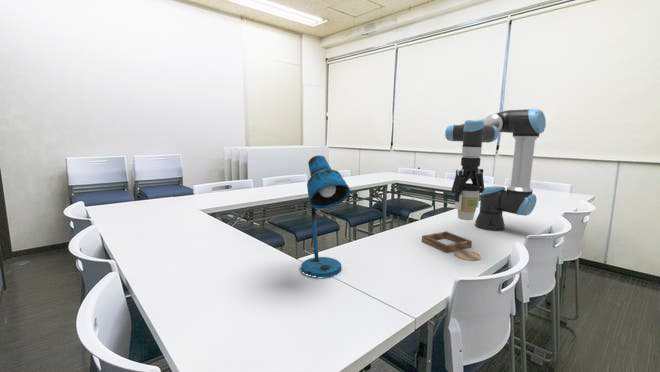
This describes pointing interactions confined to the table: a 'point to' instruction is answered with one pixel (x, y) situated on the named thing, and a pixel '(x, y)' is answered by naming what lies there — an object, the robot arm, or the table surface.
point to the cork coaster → (468, 255)
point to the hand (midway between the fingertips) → (466, 207)
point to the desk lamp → (323, 193)
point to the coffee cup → (468, 201)
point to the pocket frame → (431, 240)
